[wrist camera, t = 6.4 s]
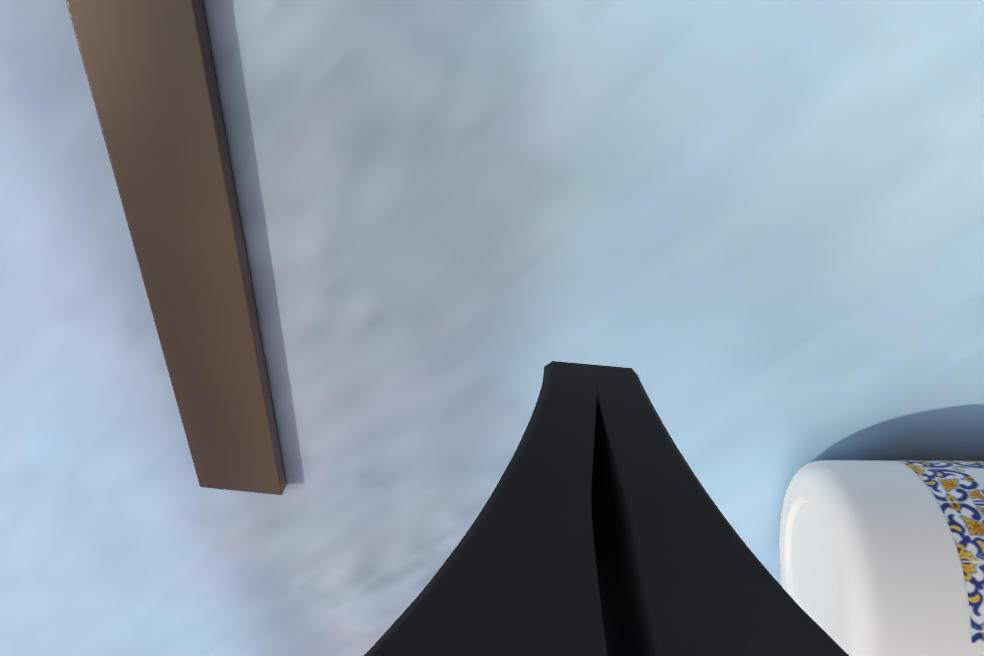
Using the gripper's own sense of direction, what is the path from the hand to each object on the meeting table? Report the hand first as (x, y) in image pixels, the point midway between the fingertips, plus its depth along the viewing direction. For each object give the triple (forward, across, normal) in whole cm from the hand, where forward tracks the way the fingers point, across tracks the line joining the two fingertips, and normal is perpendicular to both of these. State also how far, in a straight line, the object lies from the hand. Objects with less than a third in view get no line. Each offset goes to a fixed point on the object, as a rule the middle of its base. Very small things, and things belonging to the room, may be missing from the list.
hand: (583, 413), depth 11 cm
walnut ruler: (+8, +10, 0) cm, 13 cm away
